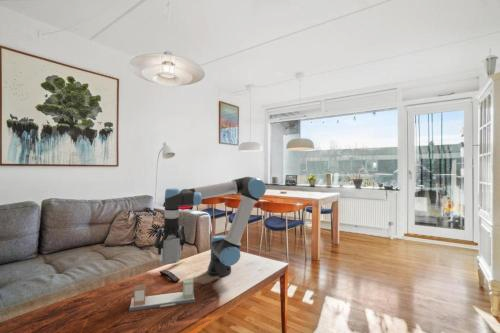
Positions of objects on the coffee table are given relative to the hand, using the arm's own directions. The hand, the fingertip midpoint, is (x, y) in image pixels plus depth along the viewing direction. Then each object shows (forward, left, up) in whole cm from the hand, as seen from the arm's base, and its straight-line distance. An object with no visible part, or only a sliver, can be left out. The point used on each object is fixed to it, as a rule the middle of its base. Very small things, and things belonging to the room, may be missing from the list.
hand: (170, 258), depth 141 cm
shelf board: (+3, +11, -18) cm, 21 cm away
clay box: (+14, +11, -17) cm, 24 cm away
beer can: (0, 0, -1) cm, 1 cm away
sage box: (-9, +11, -17) cm, 22 cm away
